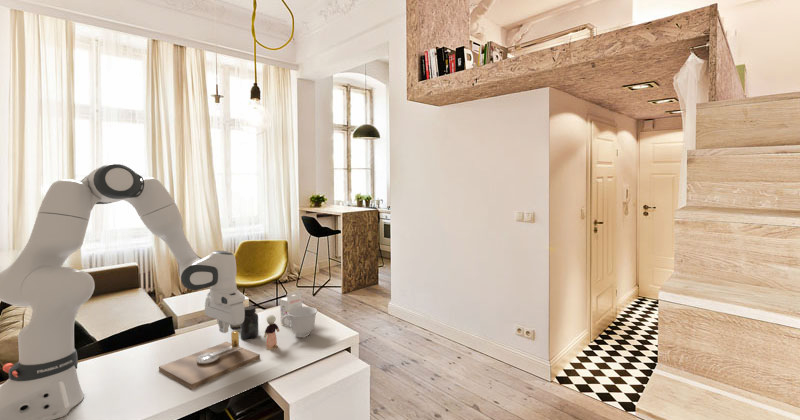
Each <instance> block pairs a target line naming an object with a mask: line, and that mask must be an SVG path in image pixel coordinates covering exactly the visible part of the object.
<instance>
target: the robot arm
mask: <svg viewBox="0 0 800 420" xmlns="http://www.w3.org/2000/svg"><path fill="white" fill-rule="evenodd" d="M120 201H124V202H125V201H126V202H127V203H129V204H130V205H131V206H132V207H133V208H134V209H135V211H136V213H137V215H138V216H139V219H140V220H141V221H142V223H143V225H145V227H146V228H147V229H148V230H149V232H151V233H152V235H155V236H156V237H157V238H160V240H162V241H163V242H165V244H166V246H167V247H168V248H169V250H170V252H171V253H172V255H173V257H174V258H175V260H176V262H177V265H178V268H177V269H178V270H177V271H178V276H179V279H180V281H181V284H182V285H183V287H184V288H186V289H187V290H189V291H200V290H205V289H207V288H209V291H208V293H207V295H206V296H207V297H206V298H205V302H204V314H205V316H206V317H208V318H211V319H215V320H216V321H217V326H218V328H219V329H218V330H219V332H221V333H223V334H226V333H229V327H230V324H231V325H234V326H235V325H239V324H242V323H243V322H244V317H245V308H244V307H245V304H244V302H245V301H246V297H245V294H243V293H241V291H240V290H239V289H238V287H237V282H236V279H237V262H236V256H235V255H234V253H232V252H230V251H226V250H213V251H212V252H210V254H208V255H207V256H204V257H200V256H198V255H197V253H195V251H194V249H193V248H192V246H191V244H190V242H189V241H188V239H187V237H186V234H185V232H184V226H183V225H184V224H183V217H182V214H181V212H180V210H179V209H180V208H178V206H177V204H176V202H175V200H174V198H173V197H172V195H171V194H170V192H169V191H168V190H167V188H166V187H165V186H164V184H162V183H161V181H160V180H159V179H157V178H156V177H150V176H147V177H143V176H142V175H140V174H138V173H137V172H135V171H134V170H133V169H131V168H130V167H129V166H127V165H124V164H121V163H107V164H105V165H102V166H100V167H98V168H96V169H94V170H92V171H91V172H90V173H88V174H87V175H86V176H85V177H84V178H82V180H77V179H71V178H70V179H69V178H67V179H65V178H64V179H59V180H56V181H54V182H53V183H52V184H51V185H49V188H48V190H47V192H46V193H45V195H44V197H43V199H42V201H41V204H40V206H39V209H38V212H37V214H36V218H35V220H34V225H33V227H32V231H31V233H30V236H29V239H28V240H27V242H26V245H25V246H24V247H23V249H22V251H21V253H19V255H18V256H17V258H15V260H14V261H13V262H12V263H11V264H10V266H9V267H7V268H6V269H4V270H2V271H1V272H0V301H1V302H3V303H6V304H9V305H11V306H17V307H26V308H27V307H28V308H29V307H30V308H31V311H32V312H31V316H30V320H29V322H28V324H27V325H25V326H23V328H21V330H20V331H19V332H18V335H17V341H18V361H17V362H16V363H15V364H14V363H11V362H9V363H6V364H4V365H3V366H2V370H3V371H4V372H5V373H7V374H8V379H7V380H6V381H5V382H3V383H2V384H1V385H0V420H56V419H58V418H59V419H60V418H63V417H64V416H66V415H67V414H68V413H69V412H70V411H71V410H72V409H73V408H74V407H76V406H77V405H78V404H80V403H81V402H82V401H83V399H84V398H85V394H84V391H83V389H82V387H81V384H80V381H79V377H78V372H77V369H78V362H79V361H78V353H77V349H76V348H75V322H76V318H77V315H78V312H79V310H80V309H81V307H82V306H83V305H84V304H85V303H87V302H88V301H89V299H91V297H92V295H93V294H94V291H95V286H96V285H95V284H96V283H95V280H94V277H93V276H92V275H91V274H90V273H88V272H86V271H84V270H81V269H77V268H74V267H70V266H69V267H67V266H66V267H65V266H63V265H64V264H65V262H66V261H67V260H68V258H69V257H70V256H71V255H72V254H74V253H75V252H77V251H79V249H81V248H82V246H83V244H84V239H85V236H86V233H87V228H88V225H89V222H90V217H91V212H92V210H93V208H95V205H105V204H106V205H107V204H112V203H116V202H120Z"/></svg>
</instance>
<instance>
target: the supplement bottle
mask: <svg viewBox="0 0 800 420" xmlns="http://www.w3.org/2000/svg"><path fill="white" fill-rule="evenodd" d="M244 308H245V317H244V322H243V323H242V324H240V328H239V329H240V331H239V333H240V334H239V335H240V336H239V337H240V339H241V340H244V341H250V340H253V339H256V338H258V337H259V315H258V313H257V311H256V310H257V309H256V308H257V307H256V306H253V305H250V306H248V305H247V306H244Z"/></svg>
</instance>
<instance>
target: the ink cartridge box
mask: <svg viewBox="0 0 800 420" xmlns="http://www.w3.org/2000/svg"><path fill="white" fill-rule="evenodd" d="M279 301H280V302H279V303H280V325H281V324H282V317H283V316H284V315H288V314H287V312H288V311H289V310H291V309H293V308H297V307H303V296H302V290H301V289H299V290H298V289H297V290H295V291H291V292H287V294H286V297H283V298H280V300H279ZM288 316H289V315H288ZM284 323H285V324H288V325H291V324H290V320H288V319H287V318H285V319H284Z"/></svg>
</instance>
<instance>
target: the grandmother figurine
mask: <svg viewBox="0 0 800 420" xmlns="http://www.w3.org/2000/svg"><path fill="white" fill-rule="evenodd" d="M266 322H267V324H268V325H267V326H266V328H265V331H264V335H263V338H264V339H266V342H265V343H266V344H265V345H266V351H267V350H268V351H269V350H270V351H271V350H274V349H275V348H278V345H277V344H278V342H277V341H278V340H277V334H276V332H278V333H279V332H280V329H279V326H278V324H276V323H275V322H276V316H275V315H274V314H270V315H267V316H266Z"/></svg>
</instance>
